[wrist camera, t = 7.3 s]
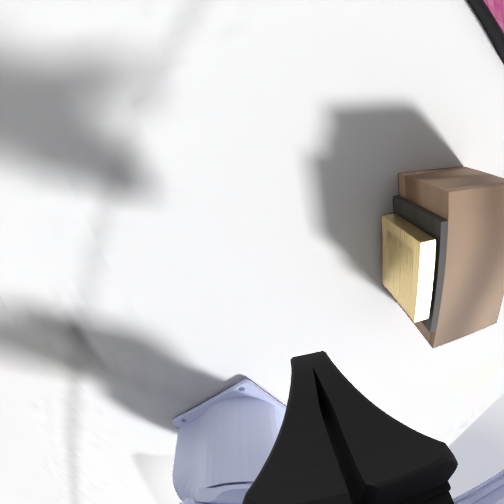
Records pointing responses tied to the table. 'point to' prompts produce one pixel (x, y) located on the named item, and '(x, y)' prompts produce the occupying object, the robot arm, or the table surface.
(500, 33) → the laptop bag
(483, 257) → the collar block
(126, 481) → the table surface
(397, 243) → the peg
